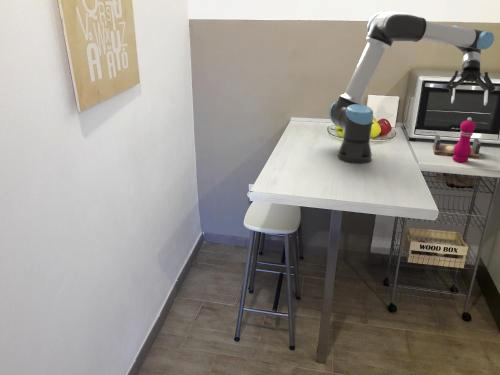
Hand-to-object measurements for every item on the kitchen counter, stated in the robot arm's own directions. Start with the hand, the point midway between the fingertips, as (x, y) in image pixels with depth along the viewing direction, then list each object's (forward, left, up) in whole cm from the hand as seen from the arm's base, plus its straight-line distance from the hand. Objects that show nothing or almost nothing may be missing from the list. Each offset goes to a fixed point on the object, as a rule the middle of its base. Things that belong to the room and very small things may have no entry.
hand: (468, 102), depth 183 cm
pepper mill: (0, -11, -24) cm, 27 cm away
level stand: (-1, 0, -24) cm, 24 cm away
